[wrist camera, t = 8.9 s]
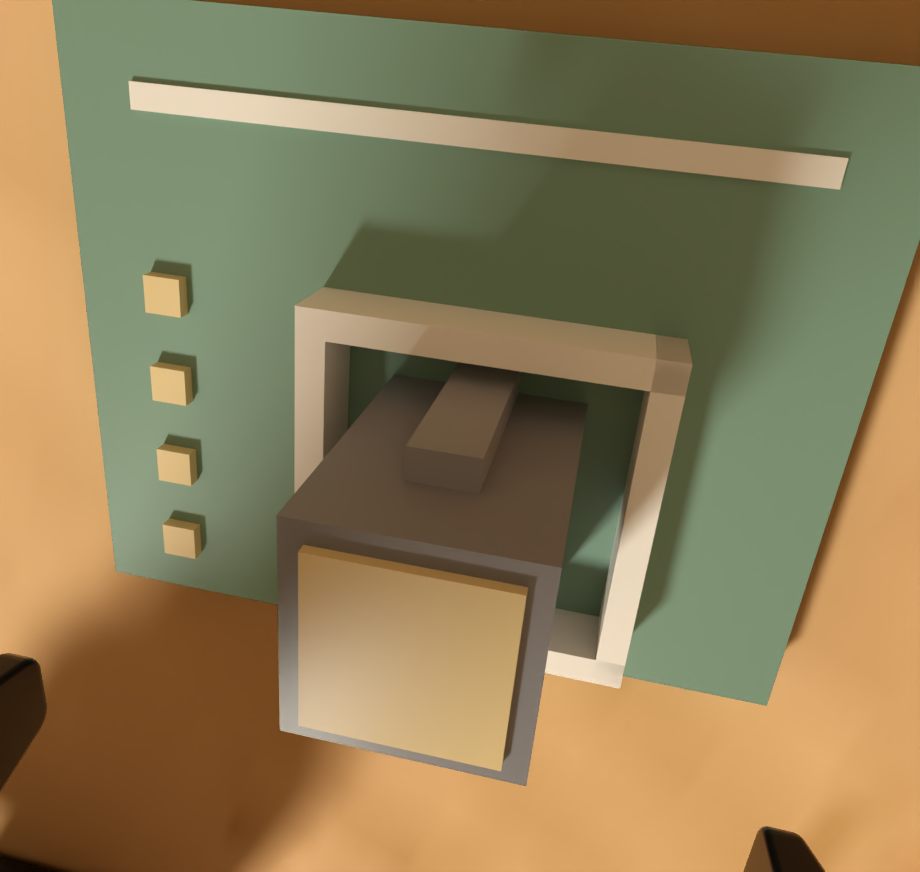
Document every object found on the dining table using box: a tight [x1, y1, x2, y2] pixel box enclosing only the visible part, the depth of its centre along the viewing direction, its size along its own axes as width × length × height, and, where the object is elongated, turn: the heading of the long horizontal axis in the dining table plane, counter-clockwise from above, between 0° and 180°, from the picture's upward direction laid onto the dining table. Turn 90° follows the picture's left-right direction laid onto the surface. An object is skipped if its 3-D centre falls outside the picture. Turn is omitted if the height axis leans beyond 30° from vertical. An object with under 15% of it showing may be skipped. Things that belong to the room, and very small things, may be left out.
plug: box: [276, 362, 588, 786], centre depth 14 cm, size 4×5×6 cm
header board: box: [52, 0, 920, 706], centre depth 16 cm, size 16×13×3 cm
